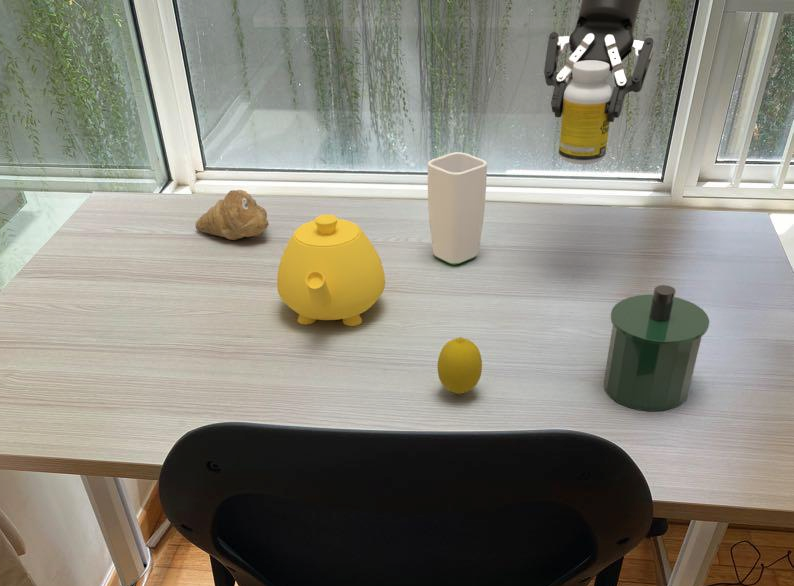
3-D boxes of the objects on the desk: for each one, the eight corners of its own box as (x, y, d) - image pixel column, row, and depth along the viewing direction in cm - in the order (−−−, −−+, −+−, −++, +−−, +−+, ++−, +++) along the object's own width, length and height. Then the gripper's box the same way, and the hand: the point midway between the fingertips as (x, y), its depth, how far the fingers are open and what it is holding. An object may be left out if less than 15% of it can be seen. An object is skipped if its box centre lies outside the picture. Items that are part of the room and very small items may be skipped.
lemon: (461, 377, 114) (463, 322, 109) (489, 395, 111) (492, 339, 106) (428, 391, 112) (428, 336, 107) (456, 411, 109) (457, 354, 103)
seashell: (210, 256, 153) (187, 252, 146) (197, 209, 152) (174, 203, 144) (280, 233, 149) (260, 228, 141) (267, 185, 148) (247, 177, 140)
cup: (453, 271, 137) (455, 175, 126) (423, 256, 141) (422, 162, 131) (487, 257, 140) (491, 162, 130) (456, 243, 144) (458, 150, 134)
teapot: (374, 354, 119) (370, 258, 110) (263, 350, 121) (249, 256, 112) (392, 285, 134) (389, 196, 124) (292, 283, 135) (282, 194, 126)
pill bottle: (596, 168, 118) (607, 74, 110) (550, 162, 120) (558, 69, 112) (611, 152, 122) (623, 60, 114) (567, 146, 124) (576, 56, 116)
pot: (693, 374, 113) (709, 307, 107) (681, 418, 106) (697, 349, 100) (612, 360, 116) (623, 294, 110) (596, 402, 109) (606, 334, 103)
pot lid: (712, 310, 107) (721, 275, 104) (700, 356, 100) (709, 320, 97) (619, 296, 111) (625, 262, 108) (600, 340, 103) (606, 304, 100)
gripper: (556, -28, 114) (527, 97, 114) (669, -24, 110) (638, 105, 110) (561, 9, 121) (534, 126, 121) (667, 14, 117) (638, 135, 117)
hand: (583, 116), depth 116 cm, fingers closed on pill bottle, 6 cm apart
